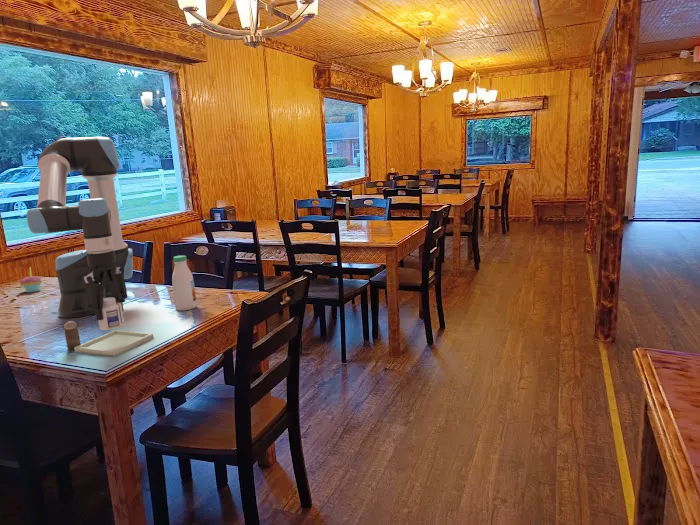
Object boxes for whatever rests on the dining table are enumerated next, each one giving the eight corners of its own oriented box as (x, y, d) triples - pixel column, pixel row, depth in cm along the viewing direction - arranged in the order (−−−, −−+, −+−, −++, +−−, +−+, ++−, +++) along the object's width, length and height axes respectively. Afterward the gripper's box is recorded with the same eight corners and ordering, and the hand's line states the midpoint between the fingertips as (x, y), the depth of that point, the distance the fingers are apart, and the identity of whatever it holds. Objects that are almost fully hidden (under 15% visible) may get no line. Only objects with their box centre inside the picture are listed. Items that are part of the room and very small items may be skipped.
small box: (122, 294, 217) (118, 270, 215) (105, 297, 213) (101, 273, 211) (117, 290, 226) (113, 267, 223) (101, 292, 222) (97, 269, 220)
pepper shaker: (65, 351, 151) (59, 323, 149) (74, 346, 155) (69, 319, 153) (74, 352, 150) (69, 324, 148) (84, 347, 154) (79, 319, 151)
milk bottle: (190, 311, 186) (183, 258, 182) (171, 311, 187) (164, 258, 183) (200, 305, 193) (194, 254, 189) (182, 305, 195) (175, 254, 191)
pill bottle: (106, 325, 155) (102, 297, 154) (124, 323, 156) (120, 296, 154) (99, 330, 150) (95, 301, 148) (118, 329, 150) (113, 300, 149)
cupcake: (46, 289, 233) (42, 264, 231) (27, 294, 226) (22, 268, 224) (37, 288, 238) (32, 263, 236) (18, 292, 231) (13, 267, 229)
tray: (74, 352, 150) (74, 347, 150) (116, 334, 164) (115, 329, 164) (114, 356, 144) (113, 352, 144) (153, 338, 158) (152, 333, 158)
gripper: (83, 257, 139) (96, 337, 143) (133, 245, 155) (144, 317, 160) (63, 257, 141) (77, 335, 146) (115, 245, 158) (126, 316, 163)
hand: (112, 326), depth 153 cm, fingers closed on pill bottle, 5 cm apart
